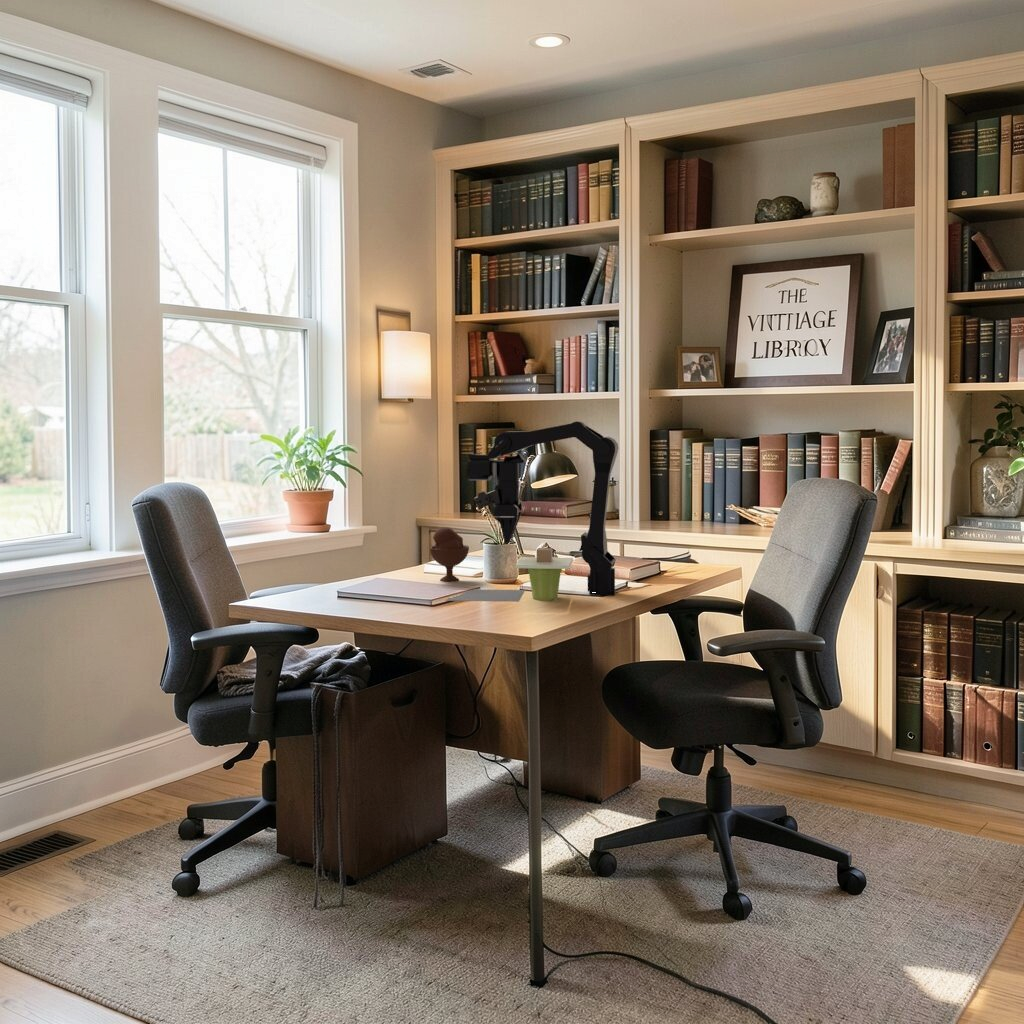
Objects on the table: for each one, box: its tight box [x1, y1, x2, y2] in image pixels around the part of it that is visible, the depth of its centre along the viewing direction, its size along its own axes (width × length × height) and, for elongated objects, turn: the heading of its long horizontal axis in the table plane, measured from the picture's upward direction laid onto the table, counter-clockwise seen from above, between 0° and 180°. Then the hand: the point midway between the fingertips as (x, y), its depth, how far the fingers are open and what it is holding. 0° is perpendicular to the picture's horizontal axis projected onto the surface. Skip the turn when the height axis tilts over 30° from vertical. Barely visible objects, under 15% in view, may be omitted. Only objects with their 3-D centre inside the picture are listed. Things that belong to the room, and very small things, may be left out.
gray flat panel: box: [445, 588, 526, 603], centre depth 271 cm, size 18×16×1 cm
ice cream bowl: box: [429, 526, 470, 583], centre depth 293 cm, size 11×11×15 cm
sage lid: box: [515, 547, 574, 570], centre depth 265 cm, size 13×13×4 cm
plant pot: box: [526, 568, 563, 601], centre depth 266 cm, size 9×9×9 cm
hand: (508, 540), depth 278 cm, fingers open, 9 cm apart
